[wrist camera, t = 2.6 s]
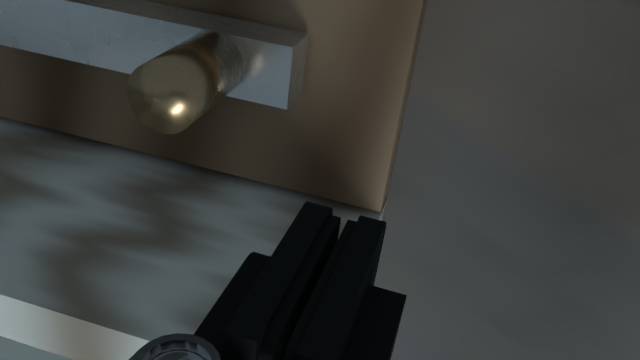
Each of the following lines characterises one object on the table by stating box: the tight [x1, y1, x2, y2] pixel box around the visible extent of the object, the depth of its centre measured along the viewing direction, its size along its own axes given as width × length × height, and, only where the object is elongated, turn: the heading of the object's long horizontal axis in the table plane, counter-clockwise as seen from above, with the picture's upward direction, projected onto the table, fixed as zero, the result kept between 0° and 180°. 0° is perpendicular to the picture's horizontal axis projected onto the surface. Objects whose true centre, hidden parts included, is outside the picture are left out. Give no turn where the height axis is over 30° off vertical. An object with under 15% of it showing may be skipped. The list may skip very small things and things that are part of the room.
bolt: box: [0, 0, 309, 134], centre depth 22 cm, size 14×2×6 cm, turn 83°
